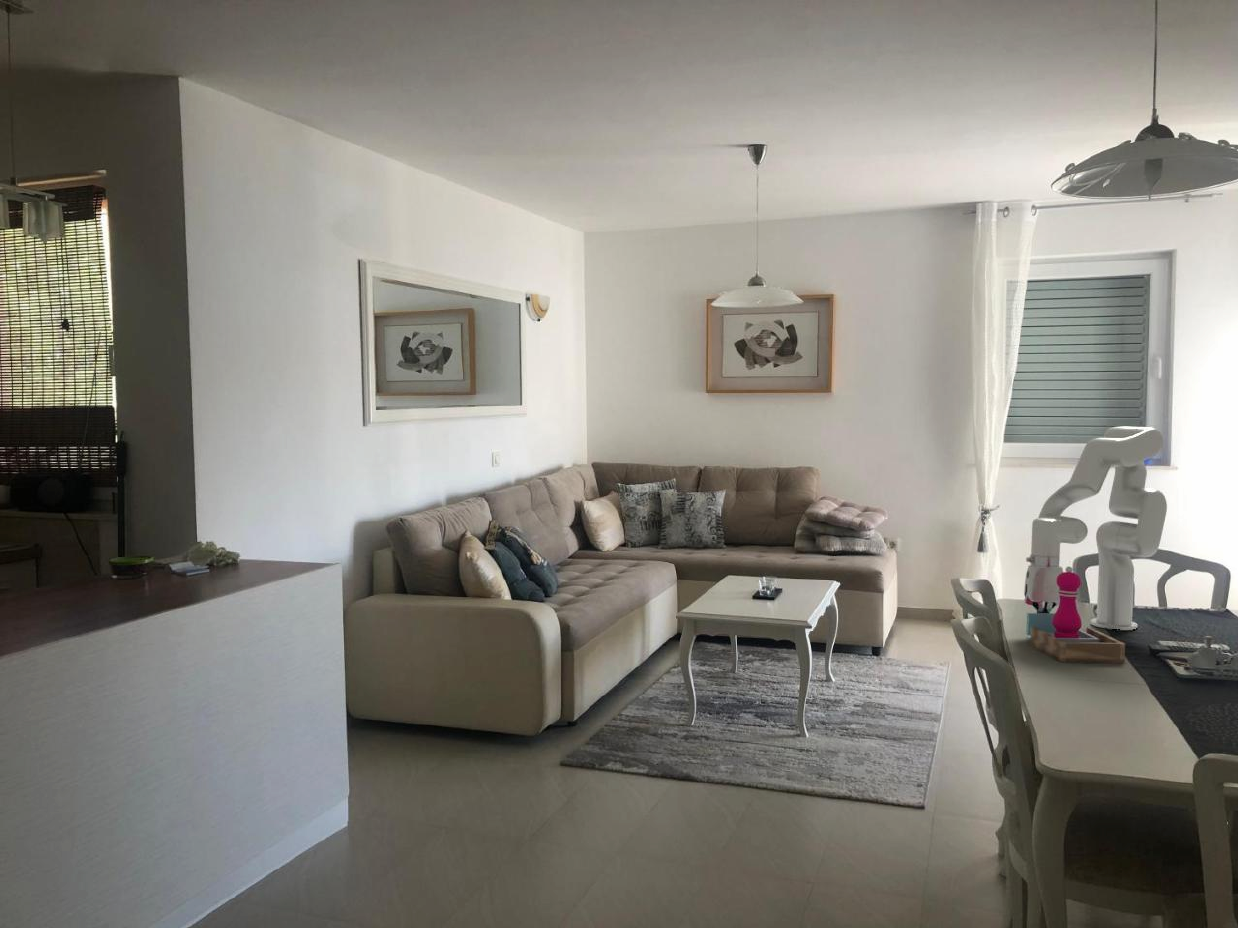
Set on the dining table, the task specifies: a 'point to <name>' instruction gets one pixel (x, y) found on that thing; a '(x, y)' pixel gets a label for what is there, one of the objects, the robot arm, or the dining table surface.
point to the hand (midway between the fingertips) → (1042, 624)
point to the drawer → (1046, 624)
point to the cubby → (1080, 648)
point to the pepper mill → (1067, 606)
